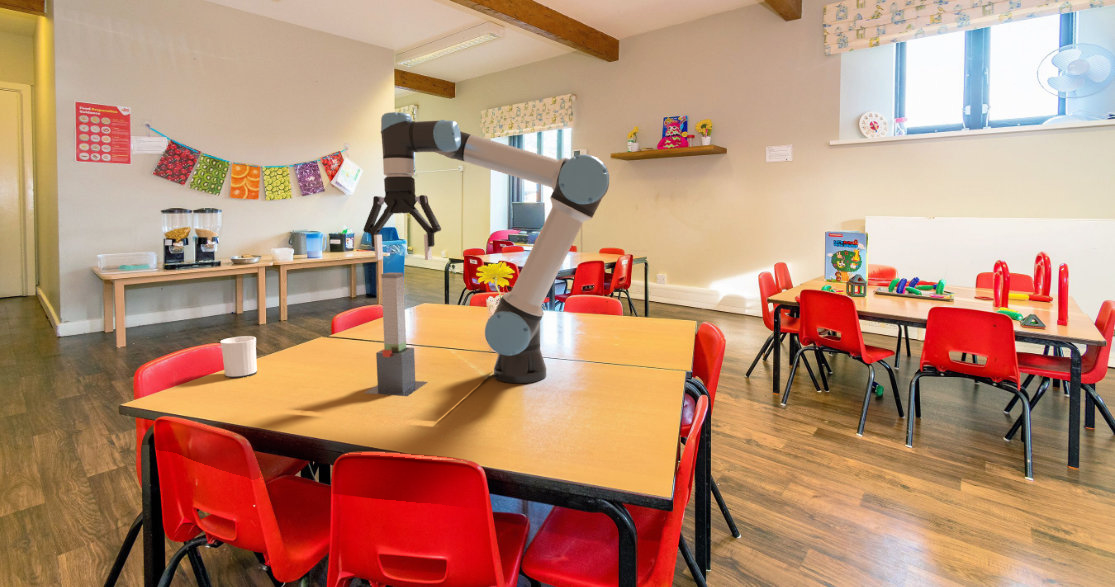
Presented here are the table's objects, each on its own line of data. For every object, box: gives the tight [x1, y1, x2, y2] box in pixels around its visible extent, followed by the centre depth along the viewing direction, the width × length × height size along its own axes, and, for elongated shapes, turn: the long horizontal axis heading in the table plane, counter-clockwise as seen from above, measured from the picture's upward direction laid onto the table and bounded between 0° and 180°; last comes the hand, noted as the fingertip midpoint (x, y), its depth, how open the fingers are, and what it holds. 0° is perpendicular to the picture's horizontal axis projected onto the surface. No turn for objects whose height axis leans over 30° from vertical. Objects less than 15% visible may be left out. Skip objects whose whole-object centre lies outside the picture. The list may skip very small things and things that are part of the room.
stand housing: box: [364, 346, 429, 397], centre depth 142 cm, size 12×12×12 cm
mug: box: [219, 335, 258, 379], centre depth 157 cm, size 11×9×10 cm
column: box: [380, 272, 407, 353], centre depth 140 cm, size 4×4×23 cm
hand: (403, 259), depth 141 cm, fingers open, 13 cm apart
